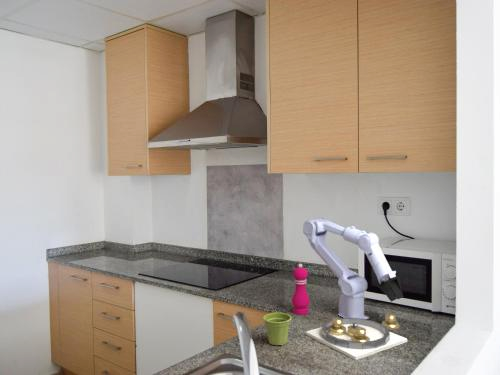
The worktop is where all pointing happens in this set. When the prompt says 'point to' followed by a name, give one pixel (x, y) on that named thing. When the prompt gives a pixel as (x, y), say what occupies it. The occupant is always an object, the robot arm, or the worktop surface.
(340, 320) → the sun and planets
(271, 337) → the plant pot
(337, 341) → the ring gear
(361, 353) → the board
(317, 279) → the worktop surface
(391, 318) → the gear
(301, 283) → the pepper mill
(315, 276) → the worktop surface
